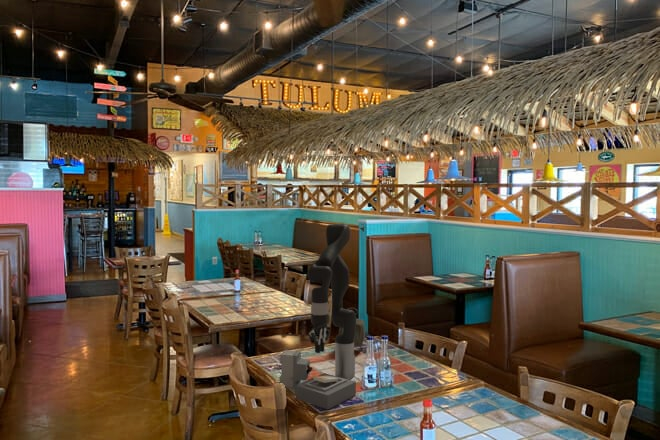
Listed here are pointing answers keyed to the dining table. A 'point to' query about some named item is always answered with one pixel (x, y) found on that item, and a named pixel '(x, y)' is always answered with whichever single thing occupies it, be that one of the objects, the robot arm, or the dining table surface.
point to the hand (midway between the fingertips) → (319, 351)
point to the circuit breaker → (293, 368)
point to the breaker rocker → (325, 379)
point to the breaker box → (325, 391)
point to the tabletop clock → (357, 331)
